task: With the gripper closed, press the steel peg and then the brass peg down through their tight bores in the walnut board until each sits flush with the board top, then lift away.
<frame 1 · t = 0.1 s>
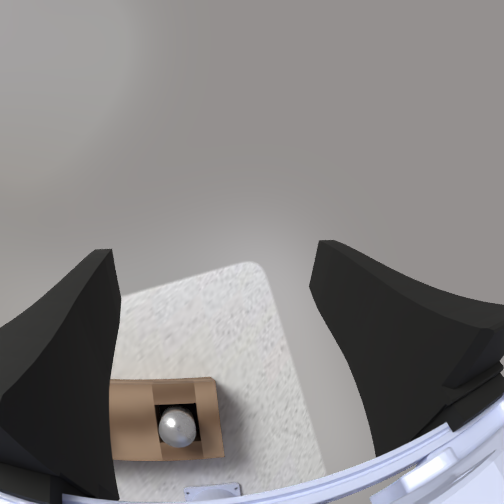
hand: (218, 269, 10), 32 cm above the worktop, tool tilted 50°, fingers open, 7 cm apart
walnut peg board: (135, 414, 34), on the worktop
steel peg: (177, 425, 29), point 7 cm above the worktop, slide at 0.0 cm
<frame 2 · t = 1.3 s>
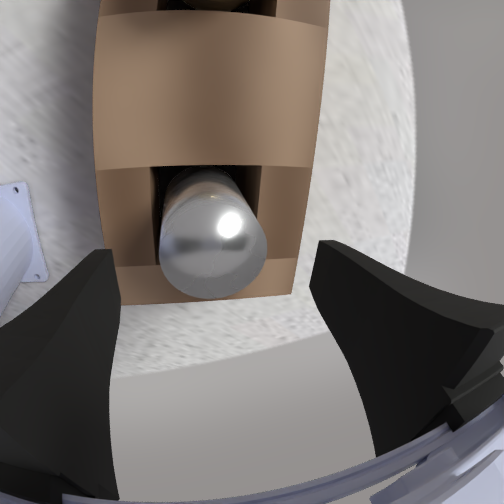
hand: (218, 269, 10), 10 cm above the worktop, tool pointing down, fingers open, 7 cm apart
walnut peg board: (201, 88, 16), on the worktop
steel peg: (206, 223, 13), point 7 cm above the worktop, slide at 0.0 cm
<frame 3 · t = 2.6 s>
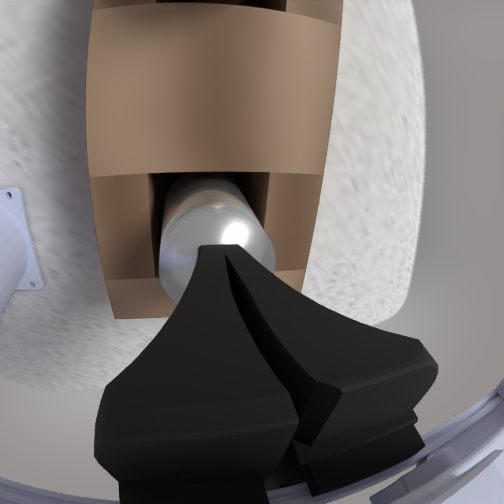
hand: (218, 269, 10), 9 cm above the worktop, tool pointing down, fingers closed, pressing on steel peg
walnut peg board: (203, 87, 15), on the worktop
steel peg: (209, 233, 12), point 7 cm above the worktop, slide at 0.2 cm, touching gripper
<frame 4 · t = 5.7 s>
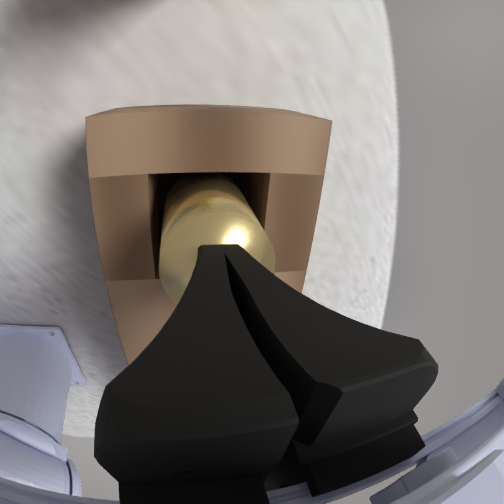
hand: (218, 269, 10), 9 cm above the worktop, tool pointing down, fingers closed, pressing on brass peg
brass peg: (209, 233, 12), point 7 cm above the worktop, slide at 0.2 cm, touching gripper
walnut peg board: (198, 268, 21), on the worktop
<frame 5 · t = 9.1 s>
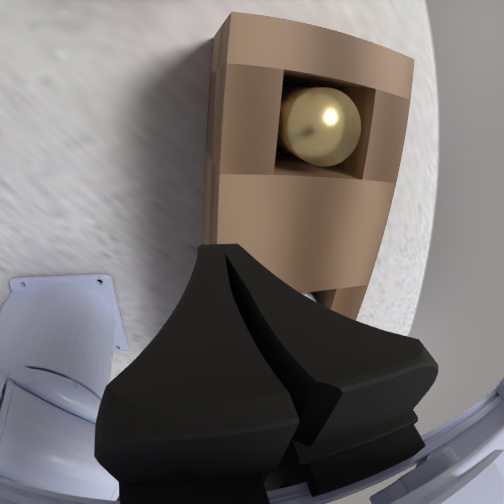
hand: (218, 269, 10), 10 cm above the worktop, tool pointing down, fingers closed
brass peg: (304, 121, 15), point 3 cm above the worktop, slide at 3.7 cm
walnut peg board: (276, 201, 21), on the worktop
steel peg: (279, 296, 21), point 3 cm above the worktop, slide at 3.7 cm
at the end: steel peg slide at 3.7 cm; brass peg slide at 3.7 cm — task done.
